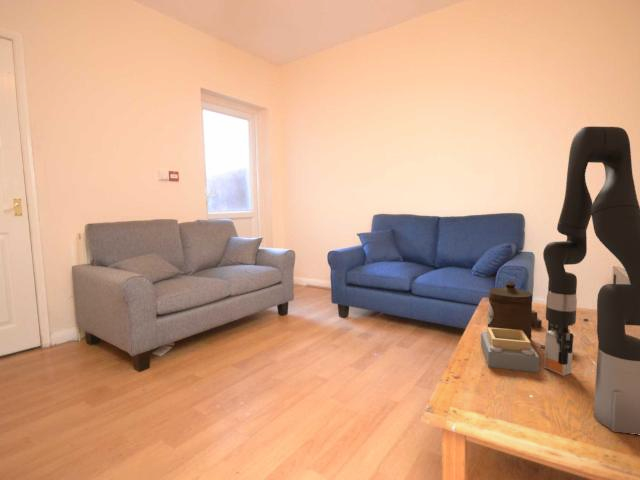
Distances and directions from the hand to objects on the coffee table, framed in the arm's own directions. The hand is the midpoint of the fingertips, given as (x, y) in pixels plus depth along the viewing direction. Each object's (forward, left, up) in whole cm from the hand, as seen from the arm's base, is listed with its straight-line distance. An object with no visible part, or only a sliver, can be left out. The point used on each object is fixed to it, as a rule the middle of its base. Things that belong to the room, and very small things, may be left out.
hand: (558, 358), depth 106 cm
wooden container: (+25, +9, -4) cm, 27 cm away
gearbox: (+6, +13, -4) cm, 15 cm away
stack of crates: (+43, -2, -5) cm, 43 cm away
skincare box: (0, 0, -4) cm, 4 cm away
